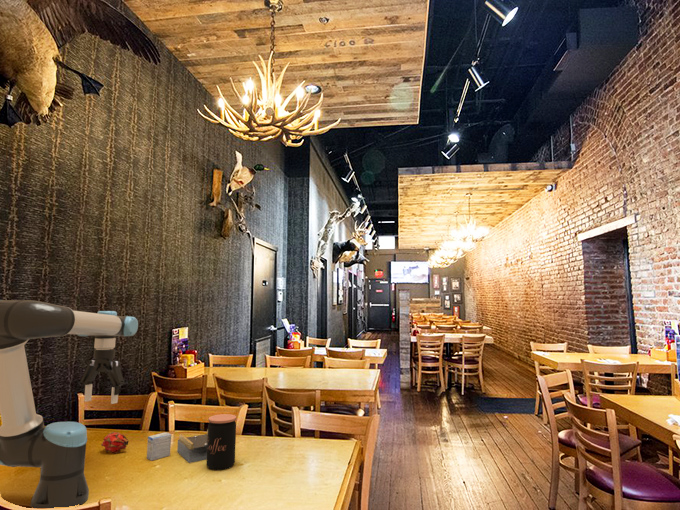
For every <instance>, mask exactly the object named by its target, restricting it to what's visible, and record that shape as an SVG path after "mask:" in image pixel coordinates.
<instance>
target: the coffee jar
mask: <svg viewBox="0 0 680 510" xmlns="http://www.w3.org/2000/svg"><path fill="white" fill-rule="evenodd" d="M207 421H208V422H209V423H208V425H207V430H208V440H207V459H206V466H207V468H208V469H209V470H212V471H224V470H228V469H230V468H232V467H233V465H234V464H235V461H236V440H237V439H236V437H237V422H236V421H237V416H236V415H235V414H232V413H231V414H228V413H221V414H220V413H219V414H215V415H212V416H209V417H208V419H207Z"/></svg>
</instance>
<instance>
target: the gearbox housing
mask: <svg viewBox="0 0 680 510" xmlns="http://www.w3.org/2000/svg"><path fill="white" fill-rule="evenodd" d="M178 438H179V439H177V450H176V452H177V453H178V454H179V455H180V456H181V457H182V458H183V459H184V460H185V461H186V462H187V464H188V463H189V464H192V463H195V462H200V461H204V460H206V461H207V440H208V429H206V434H205V433H204V434H200V435H193V436H188V437H187V436H185V435H184V434H183V433H180V434H179V437H178Z"/></svg>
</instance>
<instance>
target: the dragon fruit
mask: <svg viewBox="0 0 680 510" xmlns="http://www.w3.org/2000/svg"><path fill="white" fill-rule="evenodd" d="M129 442H130V441H129V439H128V438H127V437H126V435H124V434H122V433H120V432H118V431H116V432H115V431H112V432H111V433H108V434H107V435H106V436H104V437H103V441H102V443H101V447H104V451H105V453H108V452H111V453H114V454H119V453H121V451H122V450H125V449H126V448H127V446H128V445H129Z"/></svg>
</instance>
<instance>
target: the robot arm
mask: <svg viewBox="0 0 680 510" xmlns="http://www.w3.org/2000/svg"><path fill="white" fill-rule="evenodd" d="M138 328H139V321H138V319H137V318H136V317H135V316H130V315H129V316H127V315H125V316H122V315H118V312H117V311H114V310H98V311H97V313H96V312H89V311H82V310H81V311H80V310H73V309H72V308H71V307H68V306H65V305H59V304H54V303H48V302H44V301H39V300H33V299H32V300H31V299H28V300H27V299H26V300H22V299H21V300H19V299H17V300H16V299H14V300H13V299H11V300H10V299H9V300H8V299H7V300H6V299H5V300H3V299H0V417H1V418H0V419H1V425H0V466H5V467H11V468H17V467H19V468H20V467H23V468H24V467H25V468H40V476H39V481H38V484H37V487H36V488H35V491H34V493H33V495H32V498H31V500H30V507H33V508H54V507H69V506H75V505H78V504H81V505H83V504H84V503H86V502H87V500H88V499H89V492H90V489H89V486H88V482H87V478H86V475H85V464H86V451H87V442H88V436H87V435H88V434H87V433H88V431H87V427H86V426H85V425H84V424H82V423H80V422H77V421H57V422H52V423H50V424H47V425H46V426H45V422H44V418H43V417H44V416H42V415H40V414H37V412H36V406H35V399H34V394H33V390H32V383H31V378H30V371H29V366H28V360H27V355H26V351H25V350H26V348H25V345H26V344H27V343H28V341H29V340H34V339H35V340H36V339H42V338H52V337H54V338H55V337H56V338H60V337H64V336H67V335H77V336H78V337H88V336H89V337H90V336H91V337H92V336H93V337H94V345H93V346H94V347H93V348H94V351H93V359H91V360H88V361H87V366H86V368H85V371H84V373H83V375H82V376H81V379H80V381H79V382H80V383H81V384H83V385H84V388H83V389H84V390H83V393H84V402H90V401H92V397H93V396H92V394H93V381H94V380H95V378H96V377H97V375H98V374H99V373H101V372H102V373H105V374H107V377H108V378H109V380H110V382H111V384H112V386H111V396H110V404H111V405H113V404H118V402H119V394H120V389H121V386H123V385H124V386H125V380H124V377H123V373H122V370H121V366H120V360H115V361H113V360H114V359H115V355H116V353H115V352H116V350H115V349H114V348H116V339H117V338H116V337H131V336H132V337H133V336H134V335H136V333H137V332H138Z"/></svg>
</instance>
